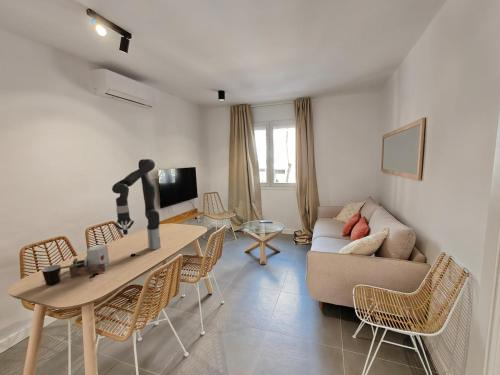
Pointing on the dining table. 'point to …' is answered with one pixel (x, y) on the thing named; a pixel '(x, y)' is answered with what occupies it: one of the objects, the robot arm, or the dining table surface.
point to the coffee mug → (52, 274)
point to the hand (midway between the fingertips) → (125, 234)
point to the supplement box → (98, 255)
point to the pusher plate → (78, 264)
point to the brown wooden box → (84, 269)
